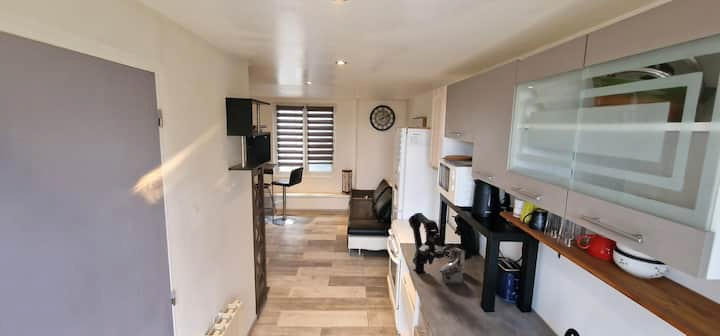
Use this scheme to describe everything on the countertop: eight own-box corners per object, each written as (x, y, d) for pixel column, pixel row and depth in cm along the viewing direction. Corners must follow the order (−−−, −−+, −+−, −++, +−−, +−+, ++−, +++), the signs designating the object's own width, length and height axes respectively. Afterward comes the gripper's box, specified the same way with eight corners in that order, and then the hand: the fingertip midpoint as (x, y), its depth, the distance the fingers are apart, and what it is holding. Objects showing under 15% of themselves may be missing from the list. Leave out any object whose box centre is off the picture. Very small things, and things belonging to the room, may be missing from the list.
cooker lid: (438, 273, 190) (436, 270, 191) (445, 265, 201) (443, 262, 202) (454, 264, 183) (452, 261, 184) (461, 257, 194) (459, 254, 195)
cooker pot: (436, 283, 190) (436, 274, 189) (445, 272, 204) (445, 264, 203) (457, 290, 182) (458, 281, 181) (465, 278, 196) (466, 270, 195)
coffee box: (464, 272, 205) (466, 250, 203) (459, 275, 201) (461, 253, 198) (453, 267, 212) (454, 246, 210) (448, 270, 208) (449, 248, 205)
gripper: (411, 239, 191) (411, 262, 192) (432, 247, 176) (432, 272, 176) (423, 236, 197) (423, 259, 198) (445, 243, 182) (445, 268, 183)
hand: (430, 264), depth 189 cm, fingers closed
